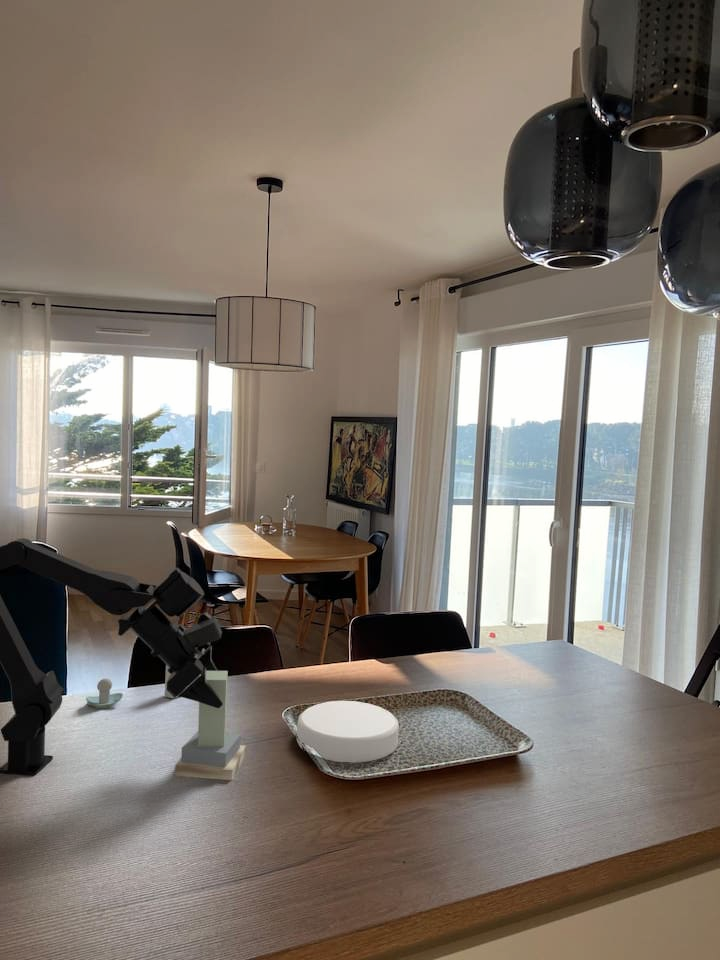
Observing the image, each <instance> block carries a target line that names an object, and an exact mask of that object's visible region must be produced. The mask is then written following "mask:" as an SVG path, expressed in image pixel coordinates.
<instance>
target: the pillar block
mask: <svg viewBox="0 0 720 960" xmlns="http://www.w3.org/2000/svg"><path fill="white" fill-rule="evenodd" d="M228 672H229V671H228V670H218V671H206V680H207V682H208V683H209V684H210V686H211V687H212V688H213V690H214V691H215V693H216V694H217V695H218V697H219V698H220V700H221V701H222V703H223V705H222V706H221V707H220V708H215V707H212V706H209V705H206V704H203V703H200V702H198V728H197V729H198V730H197V731H198V747H209V746H224V742H225V735H226V733H227V732H226V731H227V729H226V728H227V706H228V705H227V704H228V702H227V700H228V698H227V697H228V676H229V675H228Z"/></svg>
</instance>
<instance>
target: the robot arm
mask: <svg viewBox="0 0 720 960" xmlns="http://www.w3.org/2000/svg"><path fill="white" fill-rule="evenodd" d="M14 565H15V566H19V567H21V568H23V569H25V570H28V571H31V572H33V573H35V574H38V575H40V576H42V577H45V578H47V579H49V580H52V581H53V582H57V583H59V584H62V585H63V586H66V587H69V588H71V589H73V590H75V591H78V592H80V593H81V594H83V595H84V596H86V597H87V598H88V599H89V600H90V601H91V602H92V603H93V604H95V605H96V606H97V607H99V608H101V609H102V610H103V611H106V612H107V613H109V614H110V615H113V616H120V617H119V618H118V620H117V621H118V632H117V635H118V636H120V637H121V636H123V635H124V634H125V633H126V632H128V631H129V629H130V630H132V632H133V633H134V634H135V635H136V636H137V637H138V638H139V639H140V640H141V641H142V642H143V643H144V644H145V645H146V646H148V648H149V649H150V650H151V652H150V655H151V656H152V657H154V659H156V657H158V658H160V660H162V661H163V662H164V664H165V666H166V665H167V666H168V667H169V668H168V670H167V671H168V672H169V673H170V674H171V675H170V676H169V678H168V681H167V691H168V692H169V693H170V694H171V695H172V696H173V697H174V698H173V699H176V698H175V697H177V696H178V697H177V698H179V699H181V698H184V699H187V700H191V701H194V702H198V703H199V702H200V703H203V704H206V705H209V706H212V707H215V708H220V707H221V706H222V705H223V703H222V701H221V700H220V698H219V697H218V695H217V694H216V693H215V691H214V690H213V688H212V687H211V686H210V684H209V683H208V682H207V680H206V671H219V669H217V667H216V665H215V662H214V661H213V659H212V649H213V646H212V644H211V643H212V642H217V641H218V640H220V639H221V638H222V634H223V631H222V629H221V626H220V624H219V619H217V617H216V616H215V615H213V616H211V615H210V614H208V612H207V611H205V612H202V613H200V614H199V615H198V617H197V621H196V622H197V623H194V624H193V625H192V626H190V627H187V628H186V627H185V626H184V625H183V624H180V623H178V624H175V623H174V622H173V621H172V620H171V619H170V618H169V617H171V618H173V617H175V616H176V617H179V618H180V617H182V616H183V615H184V614H185V613H186V612H187V611H188V610H189V609H191V607H192V606H193V605H195V604H196V603H197V602H198V601H200V599H201V598H203V597H204V596H205V591H204V590H203V588H202V587H201V585H200V584H199V583H198V582H197V581H196V580H195V578H193V577H190V576H189V574H187V573H186V572H184V571H182V570H181V569H180V568H179V567H175V568H174V569H173V570H172V571H171V572H170V574H169V575H168V576H167V577H166V578H165V579H164V580H163V581H161V582H160V584H157V585H155V584H149V583H144V582H139V581H138V579H136V578H135V577H134V576H130V575H127V574H122V573H118V572H115V571H114V572H113V571H107V570H106V571H105V570H101V569H96V568H92V567H90V566H88V565H85V564H84V563H81V562H78V561H76V560H74V559H71V558H69V557H66V556H64V555H62V554H59V553H58V552H55V551H53V550H50V549H48V548H45V547H43V546H41V545H39V544H36V543H34V542H32V541H31V540H30V539H29V538H24V537H23V538H17V539H14V540H12V541H10V542H8V543H7V544H4V545H1V546H0V571H1V570H4V569H7V568H9V567H13V566H14ZM153 599H154V600H153ZM152 600H153V601H152ZM151 601H152V602H151ZM149 602H151V603H150V604H149V605H148V606H146V605H147V604H148V603H149ZM145 606H146V607H145ZM133 608H136V609H134V610H133ZM132 610H133V612H131V613H130V614H129V615H128V616H122V615H125V614H127V613H129V612H130V611H132ZM23 639H24V638H23V637H22V636H21V634H20V632H19V629H18V627H17V626H16V624H15V622H14V620H13V617H12V615H11V614H10V611H9V610H8V608H7V606H6V603H5V602H4V599H3V598H2V596H1V594H0V665H1V667H2V669H3V671H4V673H5V675H6V677H7V679H8V680H9V683H10V694H11V695H10V696H11V698H10V699H11V704H12V707H13V711H14V714H13V715H12V717H10V719H9V720H8V721H7V722H6V723H5V724H4V725H3V726H2V728H1V729H0V733H1V735H2V739H3V741H4V742H7V762H5V763H4V764H3V765H1V766H0V773H2V774H3V773H5V774H17V775H27V776H28V775H30V776H31V775H37V774H38V773H39V772H40V771H41V770H43V769H44V767H46V766H47V765H49V763H50V762H51V761H53V759H54V757H53V755H50V754H49V755H46V754H45V750H46V749H45V748H46V747H45V745H46V743H45V742H46V726H47V725H48V723H49V722H50V721H51V720H52V718H53V717H54V716H55V715H56V713H57V712H58V710H59V709H60V708H61V706H62V702H63V695H62V692H63V691H64V687H62V686H61V685H60V684H59V682H58V681H57V676H56V674H55V671H54V670H51V671H49V672H47V673H45V672H43V671H42V670H41V669H39V668H38V666H37V665H36V663H35V660H34V659H33V657H32V655H31V653H30V651H29V649H28V647H27V646H26V643H25V641H24V640H23ZM205 647H206V649H205Z"/></svg>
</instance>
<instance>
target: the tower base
mask: <svg viewBox="0 0 720 960" xmlns="http://www.w3.org/2000/svg"><path fill="white" fill-rule="evenodd" d="M246 747H247V745H244V744H240V749H239V750H238V751H237V753H236V754H235V755H234V757H233V758H232V759H231V761H230V762H229V763H228V765H227V766H226V767H218V766H210V765H202V764H194V763H186V762H181V757H180V758H179V760H178V761H177V762H176V764H175V765H174V776H175V775H176V776H175V777H189V778H199V777H200V778H201V779H215V780H224V781H225V780H226V781H233V779H234V777H235V776H236V774H237V771H238V769H239V768H240V766H241V764H242V762H243V760H244V758H245V756H246V752H247V751H246ZM177 775H178V776H177Z"/></svg>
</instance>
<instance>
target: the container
mask: <svg viewBox="0 0 720 960" xmlns="http://www.w3.org/2000/svg"><path fill="white" fill-rule="evenodd" d="M296 724H297V725H296V737H297V736H298V738H299V739H300V742H299V741H298V739H297V738H296V741H297V744H298V746H299V748H301V749H302V750H303V748H302V745H301V742H303V743H305V744H306V745H308V746H309V747H311V748H313V749H314V750H315V751H316V752H317V753H318V754H319V755H320V756H321V757H322V758H324V759H323V760H327V761H332V762H338V763H339V762H340V763H363V762H365V763H366V762H373V761H375V760H379V759H383V758H386V757H387V756H389V755H391V754H392V753H394V752H395V750H396V749H397V747H399V732H400V731H399V730H400V727H399V721H398V719H397V717H395V716H394V715H393V714H392V712H390V711H388V710H387V709H384V708H383V707H381V706H378V705H375V704H371V703H367V702H362V701H352V700H336V701H335V700H334V701H333V700H332V701H326V702H322V703H317V704H314V705H312V706H310V707H307V708H306V709H305V710H304V711H303V712H302V713H301V714H299V716H298V719H297V723H296ZM322 758H321V759H322Z"/></svg>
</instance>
